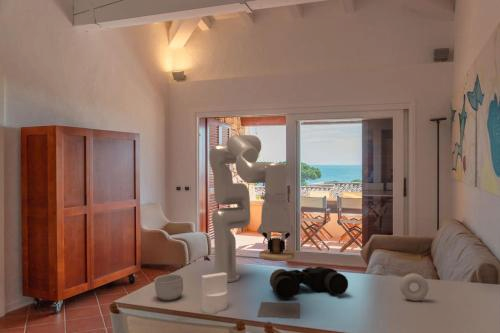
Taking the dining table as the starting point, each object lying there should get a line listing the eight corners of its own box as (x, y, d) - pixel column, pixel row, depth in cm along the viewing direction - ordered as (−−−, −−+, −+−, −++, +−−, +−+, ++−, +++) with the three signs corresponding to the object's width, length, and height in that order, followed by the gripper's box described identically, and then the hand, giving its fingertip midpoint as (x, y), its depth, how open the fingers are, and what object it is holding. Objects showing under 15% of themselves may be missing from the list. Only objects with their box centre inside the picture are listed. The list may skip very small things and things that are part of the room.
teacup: (176, 303, 144) (176, 282, 144) (149, 301, 147) (149, 280, 147) (190, 291, 158) (189, 271, 158) (164, 290, 160) (164, 270, 160)
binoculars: (276, 303, 143) (275, 275, 143) (262, 290, 163) (262, 265, 163) (349, 297, 149) (348, 270, 149) (327, 285, 169) (326, 261, 169)
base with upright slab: (207, 315, 133) (207, 280, 133) (198, 306, 141) (198, 273, 141) (231, 310, 137) (231, 276, 137) (221, 302, 145) (221, 270, 145)
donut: (427, 299, 145) (427, 272, 145) (429, 303, 142) (429, 275, 142) (399, 298, 148) (398, 271, 147) (400, 301, 144) (400, 274, 144)
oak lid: (260, 252, 142) (260, 235, 142) (293, 252, 140) (293, 235, 140) (257, 260, 130) (257, 241, 130) (294, 261, 129) (293, 242, 129)
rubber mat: (261, 304, 143) (261, 301, 143) (299, 305, 141) (299, 303, 141) (257, 319, 129) (257, 316, 129) (299, 320, 127) (299, 318, 127)
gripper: (251, 199, 132) (251, 253, 132) (300, 199, 130) (300, 254, 130) (253, 197, 140) (253, 248, 140) (299, 197, 138) (300, 249, 138)
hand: (276, 251), depth 135 cm, fingers closed on oak lid, 3 cm apart
